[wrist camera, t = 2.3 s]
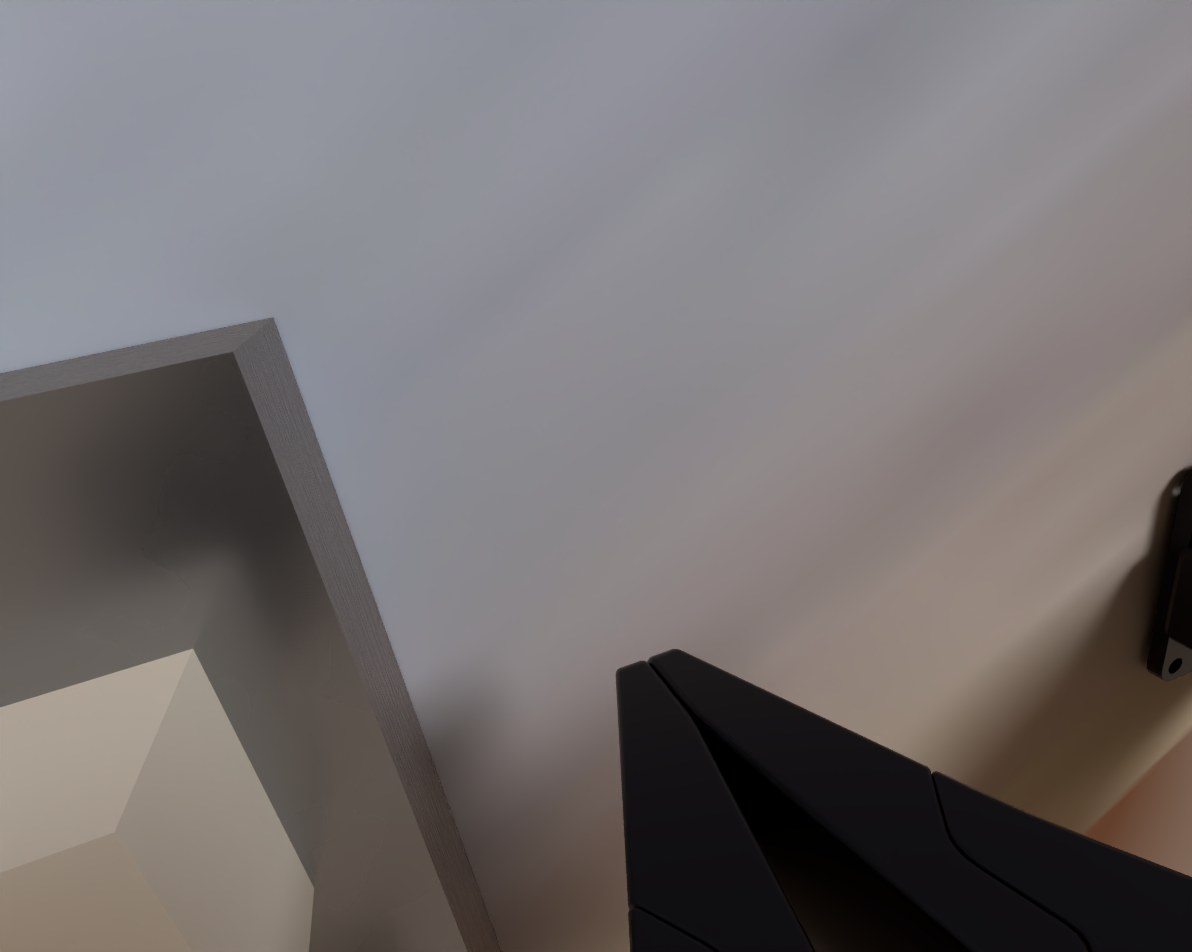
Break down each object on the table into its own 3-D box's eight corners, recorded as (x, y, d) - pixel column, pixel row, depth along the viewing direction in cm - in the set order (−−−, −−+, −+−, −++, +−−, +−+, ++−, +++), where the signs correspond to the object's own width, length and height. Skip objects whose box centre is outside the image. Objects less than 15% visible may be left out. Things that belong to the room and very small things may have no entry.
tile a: (193, 648, 7) (114, 831, 5) (314, 887, 9) (295, 1109, 7) (-252, 784, 6) (-584, 1080, 4) (-29, 1023, 8) (-186, 1334, 6)
